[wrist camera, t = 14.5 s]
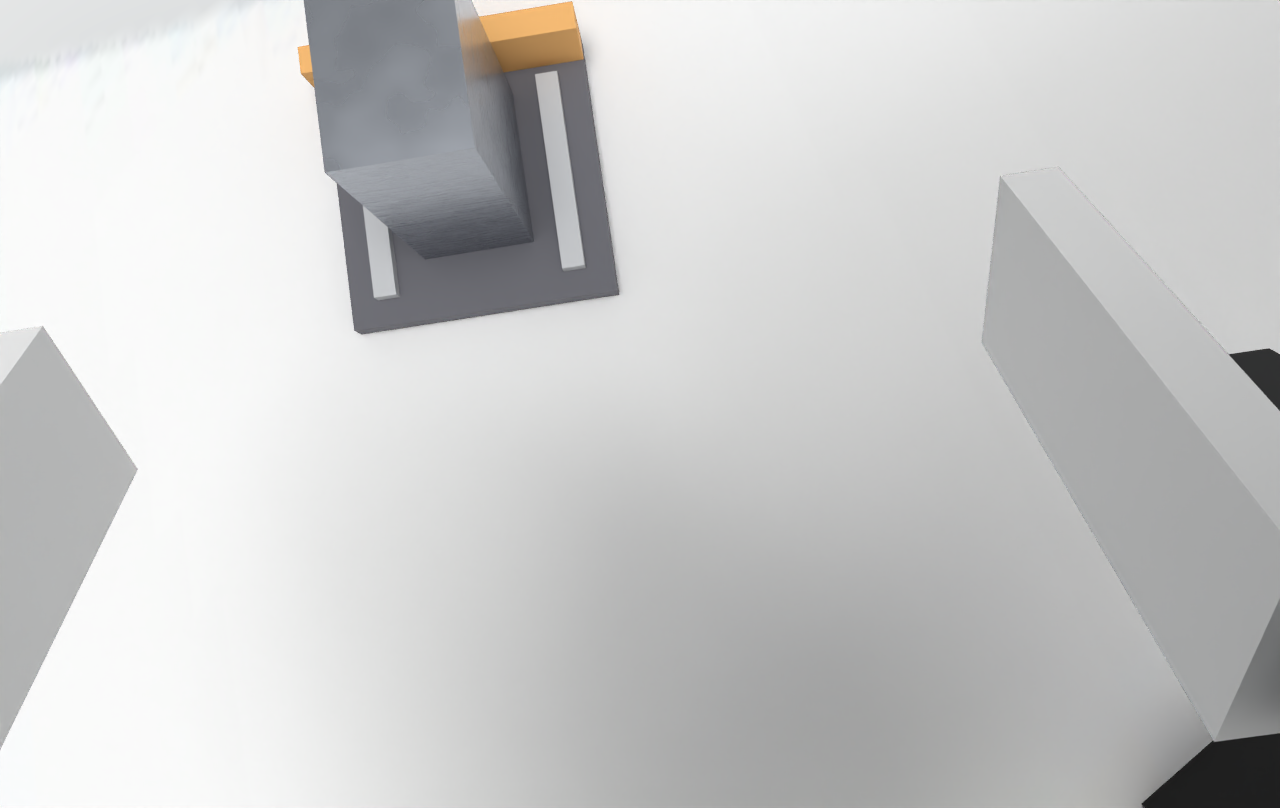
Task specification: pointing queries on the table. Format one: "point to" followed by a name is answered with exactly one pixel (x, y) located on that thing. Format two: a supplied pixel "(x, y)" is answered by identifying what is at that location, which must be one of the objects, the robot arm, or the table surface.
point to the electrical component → (1226, 777)
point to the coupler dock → (556, 187)
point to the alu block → (419, 121)
